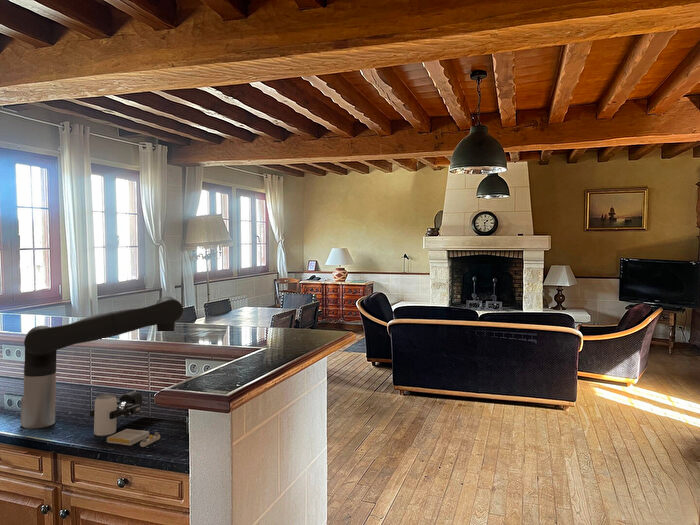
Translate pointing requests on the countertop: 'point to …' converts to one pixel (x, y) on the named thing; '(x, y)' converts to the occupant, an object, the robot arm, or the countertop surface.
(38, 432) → the countertop surface
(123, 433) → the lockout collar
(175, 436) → the countertop surface
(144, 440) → the indicator bank
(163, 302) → the robot arm
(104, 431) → the can
